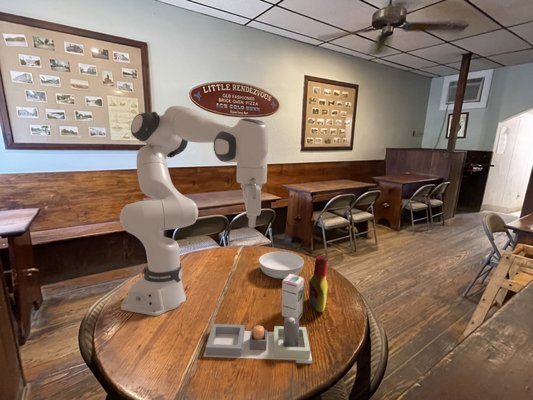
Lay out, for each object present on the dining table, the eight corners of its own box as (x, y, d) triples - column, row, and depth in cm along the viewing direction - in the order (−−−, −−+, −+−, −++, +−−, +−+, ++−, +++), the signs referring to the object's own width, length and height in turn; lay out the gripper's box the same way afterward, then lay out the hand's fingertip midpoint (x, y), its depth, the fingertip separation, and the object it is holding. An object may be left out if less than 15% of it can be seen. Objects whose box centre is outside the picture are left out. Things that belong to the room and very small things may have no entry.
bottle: (329, 315, 94) (333, 263, 90) (310, 315, 95) (314, 262, 91) (323, 297, 106) (326, 249, 102) (306, 296, 106) (309, 249, 102)
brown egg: (252, 343, 77) (252, 332, 76) (253, 335, 80) (253, 325, 80) (263, 343, 77) (264, 332, 76) (264, 336, 80) (264, 325, 80)
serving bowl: (305, 266, 133) (306, 253, 131) (300, 288, 113) (300, 272, 111) (264, 261, 138) (265, 248, 136) (252, 281, 118) (252, 266, 116)
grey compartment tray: (203, 359, 74) (202, 347, 73) (212, 332, 85) (211, 321, 84) (311, 363, 74) (312, 351, 73) (306, 335, 84) (307, 324, 84)
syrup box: (296, 323, 90) (298, 284, 87) (280, 318, 93) (282, 279, 90) (302, 314, 95) (305, 277, 92) (287, 309, 98) (289, 272, 95)
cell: (286, 352, 76) (287, 325, 74) (280, 341, 80) (281, 315, 78) (300, 348, 77) (301, 322, 76) (294, 338, 82) (295, 313, 80)
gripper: (267, 182, 68) (265, 233, 72) (258, 172, 88) (257, 212, 91) (242, 182, 68) (241, 233, 71) (239, 171, 87) (238, 212, 90)
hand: (250, 221), depth 81 cm, fingers open, 8 cm apart
